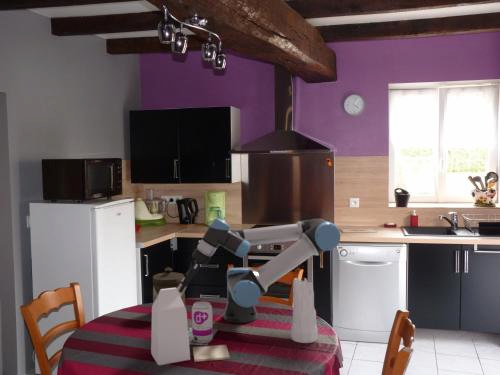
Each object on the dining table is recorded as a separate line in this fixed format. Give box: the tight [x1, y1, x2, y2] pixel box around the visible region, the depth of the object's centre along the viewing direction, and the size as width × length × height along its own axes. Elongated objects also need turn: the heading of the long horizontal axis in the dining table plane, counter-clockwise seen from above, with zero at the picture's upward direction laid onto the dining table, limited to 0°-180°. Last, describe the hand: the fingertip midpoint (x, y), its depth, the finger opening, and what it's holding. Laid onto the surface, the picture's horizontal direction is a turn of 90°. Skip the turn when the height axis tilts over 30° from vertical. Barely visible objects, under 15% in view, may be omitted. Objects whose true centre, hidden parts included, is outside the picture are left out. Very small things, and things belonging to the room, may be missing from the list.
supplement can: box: [191, 301, 214, 344], centre depth 212 cm, size 8×8×15 cm
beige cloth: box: [192, 344, 231, 363], centre depth 199 cm, size 13×12×1 cm
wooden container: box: [152, 266, 186, 307], centre depth 246 cm, size 15×15×22 cm
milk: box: [150, 288, 191, 366], centre depth 196 cm, size 12×12×26 cm
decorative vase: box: [290, 277, 319, 344], centre depth 213 cm, size 11×11×25 cm
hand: (177, 295), depth 221 cm, fingers open, 13 cm apart
